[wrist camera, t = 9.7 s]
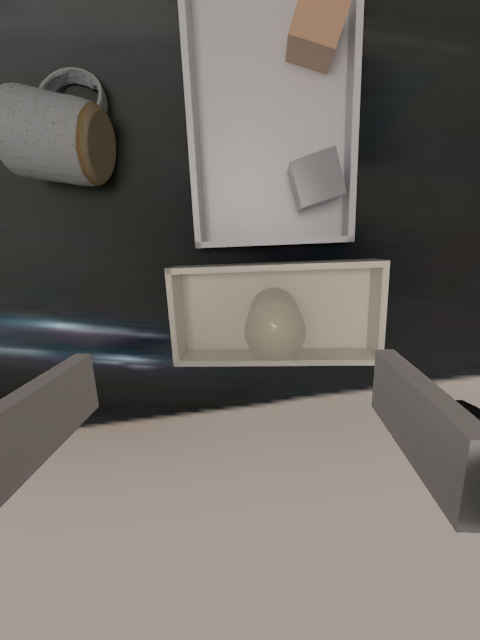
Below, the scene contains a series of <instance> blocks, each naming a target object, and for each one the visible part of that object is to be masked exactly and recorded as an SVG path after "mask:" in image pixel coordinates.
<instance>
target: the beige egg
mask: <svg viewBox="0 0 480 640" xmlns="http://www.w3.org/2000/svg"><path fill="white" fill-rule="evenodd" d="M244 334H245V339H246V342H247V345H248V346H249V348H250V349H251V351H252V352H253V353H254V354H256V355H257V356H259V357H260V358H262V359H265V360H269V361H281V360H285V359H288V358H290V357H292V356H293V355H295V354H296V353H297V352H298V351H299V350H300V348H301V347H302V345H303V343H304V340H305V336H306V327H305V323H304V320H303V318H302V316H301V314H300V312H299V309H298V307H297V305H296V303H295V301H294V299H293V297H292V296H291V295H290V294H289V293H288V292H287V291H285V290H283V289H280V288H267V289H264V290H262V291H261V292H259V293H258V294H257V295H256V296H255V297H254V299H253V301H252V303H251V307H250V310H249V314H248V317H247V321H246V324H245V330H244Z"/></svg>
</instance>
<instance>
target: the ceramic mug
mask: <svg viewBox="0 0 480 640" xmlns="http://www.w3.org/2000/svg"><path fill="white" fill-rule="evenodd" d="M74 83H75V84H80V85H83V86H87V87H90V88H91V89H94V90H98V92H99V93H98V100H97V104H96V103H94V102H92V101H89V100H87V99H84V98H81V97H77V96H73V95H68V94H61V93H56V92H57V91H58V90H59V89H61V88H62V87H64V86H67V85H69V84H74ZM106 111H107V98H106V94H105V92H104V89H103V87H102V85H101V84H100V82H99V80H98V79H97V78H96V77H95V76H94V75H93V74H92V73H90V72H88V71H86V70H84V69H80V68H75V67H67V68H62V69H59V70H56V71H54V72H53V73H51V74H50V75H49V76H47V77H46V78H45V80H44V81H43V82H42V83H41V84H40V86H39V88H36V87H31V86H28V85H24V84H19V83H3V84H2V85H0V160H1V161H2V163H3V164H4V165H5V166H6V167H7V168H8V169H9V170H10V171H11V172H13V173H15V174H16V175H19V176H22V177H26V178H33V179H39V180H46V181H53V182H61V183H67V184H74V185H80V186H100V185H103V184H104V183H106V182H107V181H108V179H109V178H110V177H111V175H112V173H113V170H114V166H115V161H116V139H115V133H114V129H113V126H112V123H111V121H110V119H109V117H108V115H107V114H106Z"/></svg>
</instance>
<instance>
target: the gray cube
mask: <svg viewBox="0 0 480 640" xmlns="http://www.w3.org/2000/svg"><path fill="white" fill-rule="evenodd" d="M287 172H288V176H289V180H290V184H291V188H292V191H293V195H294V199H295V203H296V207H297V211H298V212H299V211H302V210H305V209H308V208H311V207H314V206H317V205H320V204H323V203H327V202H330V201H333V200H336V199H338V198H340V197H341V196H343V195H344V194H346V193H347V192H346V187H345V183H344V179H343V174H342V170H341V165H340V161H339V157H338V152H337V148H336V145H335V146H332V147H329V148H327V149H324V150H321V151H318V152H315V153H312V154H310V155H307V156H304V157H301V158H298V159H295V160H293V161H290V163H289V167H288V171H287Z"/></svg>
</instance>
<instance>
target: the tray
mask: <svg viewBox="0 0 480 640" xmlns="http://www.w3.org/2000/svg"><path fill="white" fill-rule="evenodd" d="M297 2H298V0H178V12H179V26H180V40H181V54H182V68H183V82H184V96H185V110H186V124H187V137H188V151H189V165H190V179H191V193H192V207H193V221H194V235H195V248H216V247H240V246H264V245H288V244H312V243H336V242H354V240H355V215H356V191H357V166H358V142H359V117H360V92H361V68H362V43H363V19H364V0H352V1H351V4H350V7H349V10H348V13H347V16H346V19H345V22H344V25H343V28H342V31H341V34H340V37H339V40H338V43H337V46H336V49H335V52H334V55H333V58H332V61H331V64H330V67H329V69H328V72H327V75H326V74H323V73H320V72H317V71H314V70H311V69H308V68H305V67H301V66H298V65H295V64H292V63H289V62H286V61H285V59H286V49H287V38H288V32H289V28H290V25H291V22H292V18H293V15H294V12H295V8H296V5H297ZM335 145H336V148H337V152H338V157H339V161H340V165H341V170H342V174H343V179H344V183H345V187H346V192H347V193H346V194H344V195H343V196H341V197H340V198H338V199H336V200H333V201H330V202H327V203H323V204H320V205H317V206H314V207H311V208H308V209H305V210H302V211H299V212H298V211H297V207H296V203H295V199H294V195H293V191H292V188H291V184H290V180H289V176H288V172H287V171H288V167H289V163H290V161H293V160H295V159H298V158H301V157H304V156H307V155H310V154H312V153H315V152H318V151H321V150H324V149H327V148H329V147H332V146H335Z"/></svg>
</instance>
